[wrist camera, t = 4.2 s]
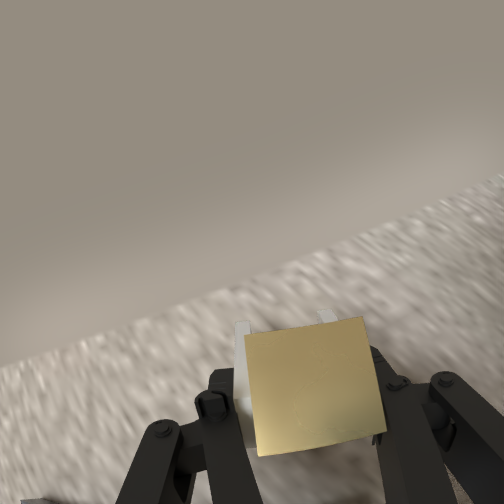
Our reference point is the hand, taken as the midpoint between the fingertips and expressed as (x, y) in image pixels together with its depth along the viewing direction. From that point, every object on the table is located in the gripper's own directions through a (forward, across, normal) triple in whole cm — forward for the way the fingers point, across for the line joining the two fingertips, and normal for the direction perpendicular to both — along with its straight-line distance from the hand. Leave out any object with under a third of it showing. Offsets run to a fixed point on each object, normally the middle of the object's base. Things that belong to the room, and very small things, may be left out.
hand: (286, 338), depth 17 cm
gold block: (0, 0, -5) cm, 5 cm away
